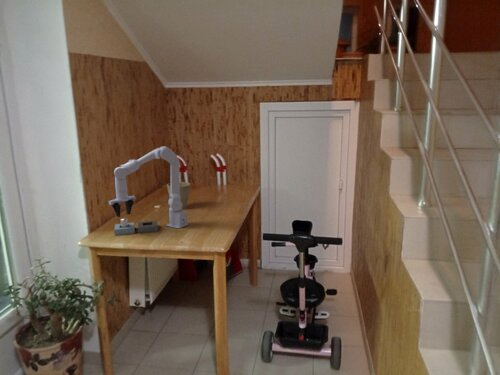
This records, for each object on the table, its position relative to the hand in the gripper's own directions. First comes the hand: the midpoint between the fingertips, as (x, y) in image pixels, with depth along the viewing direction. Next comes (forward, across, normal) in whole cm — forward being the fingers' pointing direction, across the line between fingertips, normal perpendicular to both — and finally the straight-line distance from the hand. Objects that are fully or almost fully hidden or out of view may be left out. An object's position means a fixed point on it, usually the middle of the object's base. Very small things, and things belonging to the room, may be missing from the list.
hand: (123, 215), depth 208 cm
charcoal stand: (+9, +10, -7) cm, 15 cm away
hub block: (+9, 0, 0) cm, 9 cm away
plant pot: (+9, +49, +12) cm, 51 cm away
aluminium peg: (+9, 0, 0) cm, 9 cm away
